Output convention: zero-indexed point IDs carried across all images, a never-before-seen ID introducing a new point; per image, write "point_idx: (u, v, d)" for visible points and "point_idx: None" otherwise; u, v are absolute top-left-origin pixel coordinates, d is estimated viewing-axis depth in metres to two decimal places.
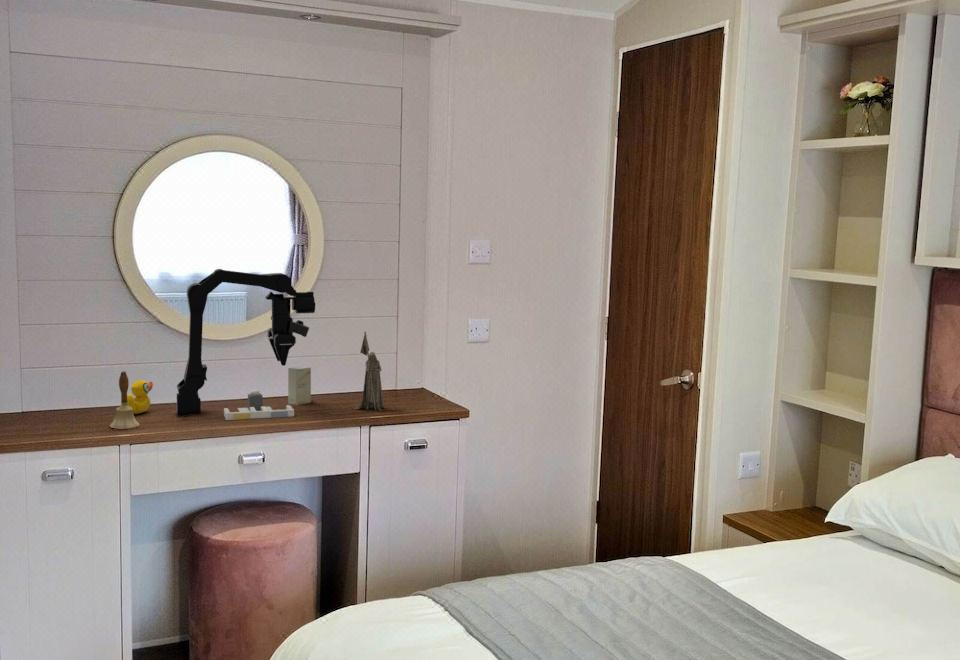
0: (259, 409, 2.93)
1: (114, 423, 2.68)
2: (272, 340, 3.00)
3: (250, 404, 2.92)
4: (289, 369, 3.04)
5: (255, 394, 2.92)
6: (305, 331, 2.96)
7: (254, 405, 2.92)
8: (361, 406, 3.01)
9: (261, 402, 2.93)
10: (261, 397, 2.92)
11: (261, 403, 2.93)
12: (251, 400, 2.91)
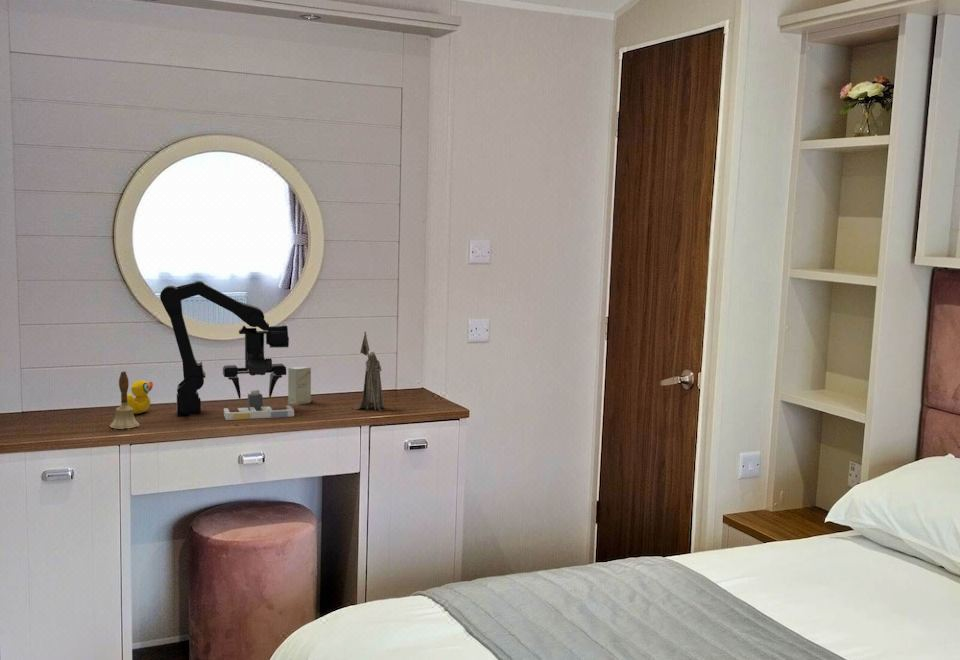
0: (259, 409, 2.93)
1: (114, 423, 2.68)
2: (270, 375, 2.97)
3: (250, 404, 2.92)
4: (289, 369, 3.04)
5: (255, 394, 2.92)
6: (249, 369, 2.85)
7: (254, 405, 2.92)
8: (361, 406, 3.01)
9: (261, 402, 2.93)
10: (261, 397, 2.92)
11: (261, 403, 2.93)
12: (251, 400, 2.91)
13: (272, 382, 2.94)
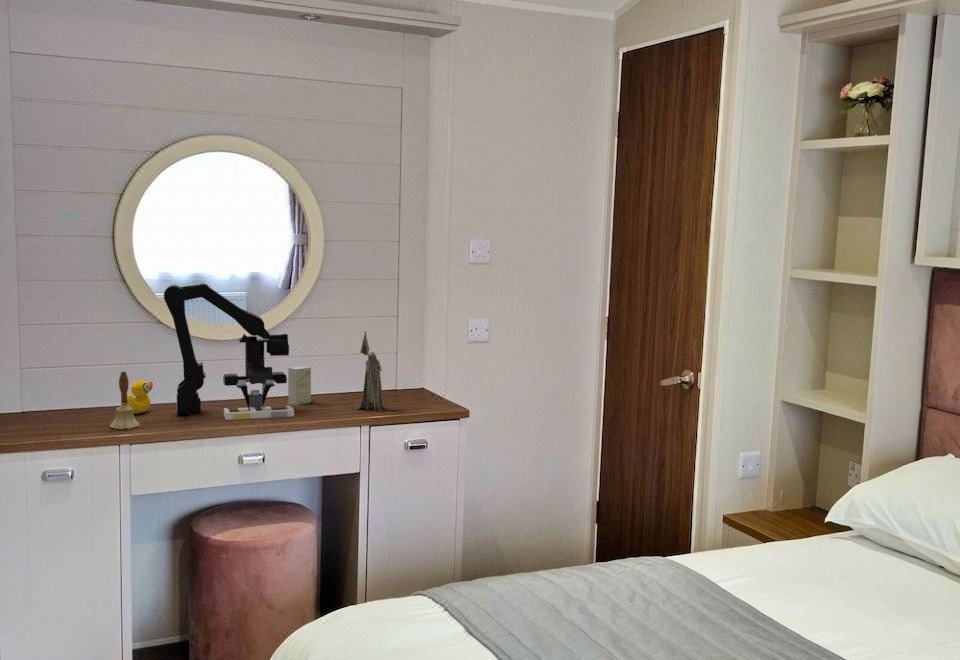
0: (259, 409, 2.93)
1: (114, 423, 2.68)
2: (262, 383, 2.96)
3: (250, 404, 2.92)
4: (289, 369, 3.04)
5: (255, 394, 2.92)
6: (250, 377, 2.85)
7: (254, 405, 2.92)
8: (361, 406, 3.01)
9: (261, 402, 2.93)
10: (261, 397, 2.92)
11: (261, 403, 2.93)
12: (251, 400, 2.91)
13: (264, 391, 2.93)
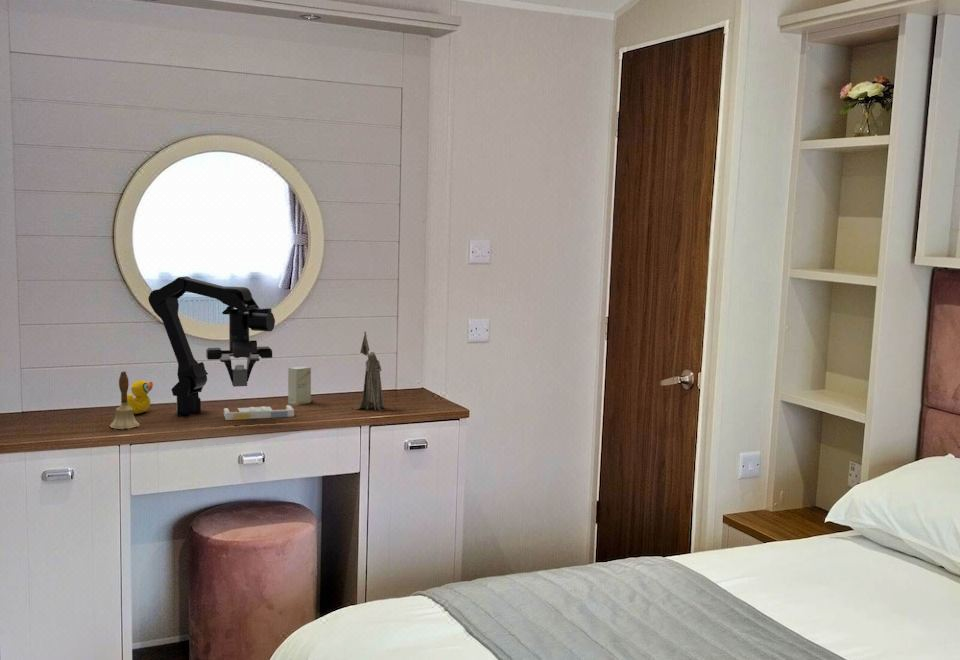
0: (243, 384, 2.82)
1: (114, 423, 2.68)
2: (247, 358, 2.85)
3: (234, 379, 2.81)
4: (289, 369, 3.04)
5: (239, 369, 2.82)
6: (233, 351, 2.75)
7: (238, 380, 2.81)
8: (361, 406, 3.01)
9: (246, 377, 2.82)
10: (246, 372, 2.82)
11: (246, 378, 2.82)
12: (235, 375, 2.81)
13: (249, 365, 2.82)
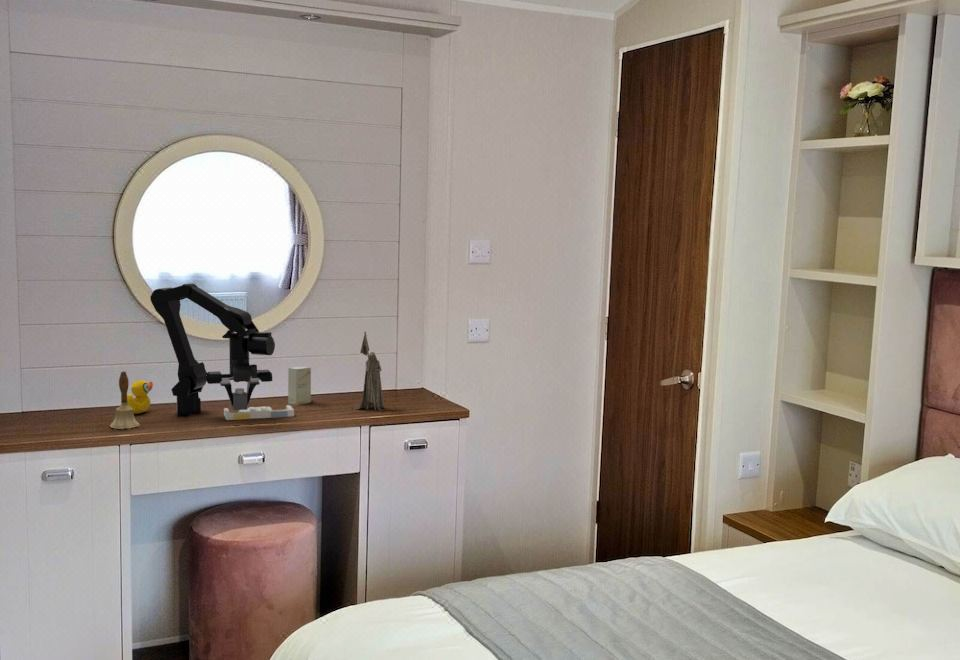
0: (244, 408, 2.83)
1: (114, 423, 2.68)
2: None
3: (234, 403, 2.82)
4: (289, 369, 3.04)
5: (239, 393, 2.83)
6: (233, 375, 2.76)
7: (238, 404, 2.82)
8: (361, 406, 3.01)
9: (246, 401, 2.83)
10: (246, 396, 2.83)
11: (246, 402, 2.83)
12: (235, 399, 2.82)
13: (249, 389, 2.83)
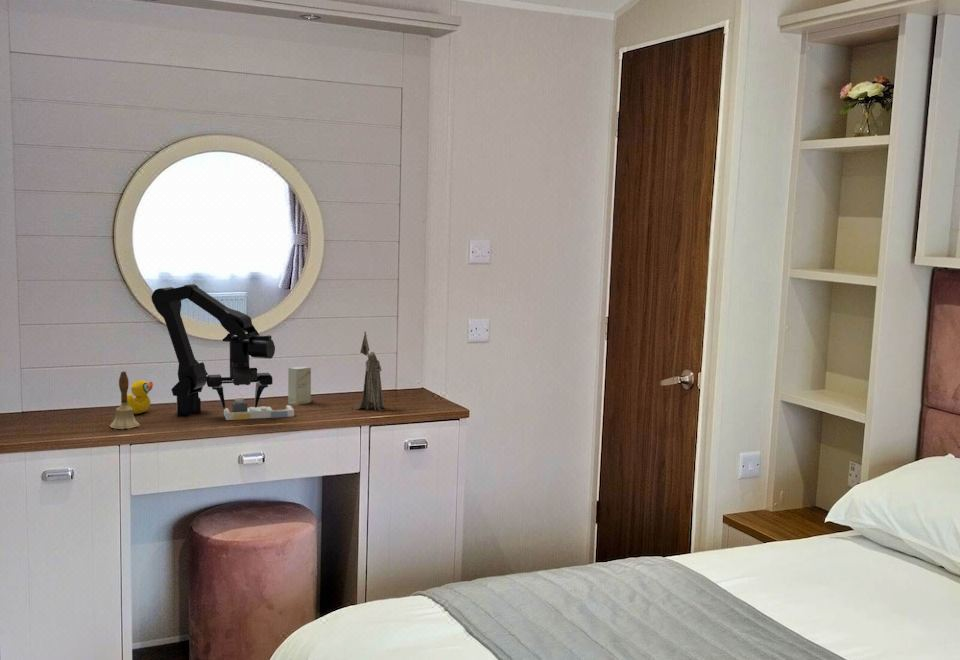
0: None
1: (114, 423, 2.68)
2: (256, 384, 2.87)
3: None
4: (289, 369, 3.04)
5: (240, 402, 2.83)
6: (234, 379, 2.76)
7: None
8: (361, 406, 3.01)
9: (246, 410, 2.83)
10: (246, 405, 2.83)
11: (246, 411, 2.83)
12: (235, 408, 2.82)
13: (258, 392, 2.84)
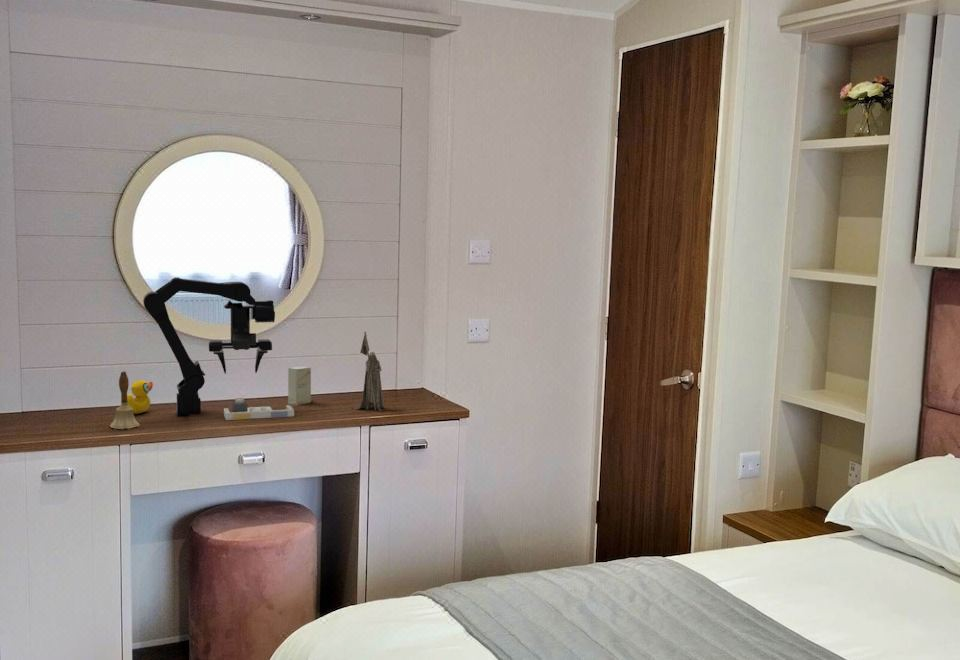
0: None
1: (114, 423, 2.68)
2: None
3: None
4: (289, 369, 3.04)
5: (240, 402, 2.83)
6: (233, 343, 2.84)
7: None
8: (361, 406, 3.01)
9: (246, 410, 2.83)
10: (246, 405, 2.83)
11: (246, 411, 2.83)
12: (235, 408, 2.82)
13: (258, 357, 2.92)
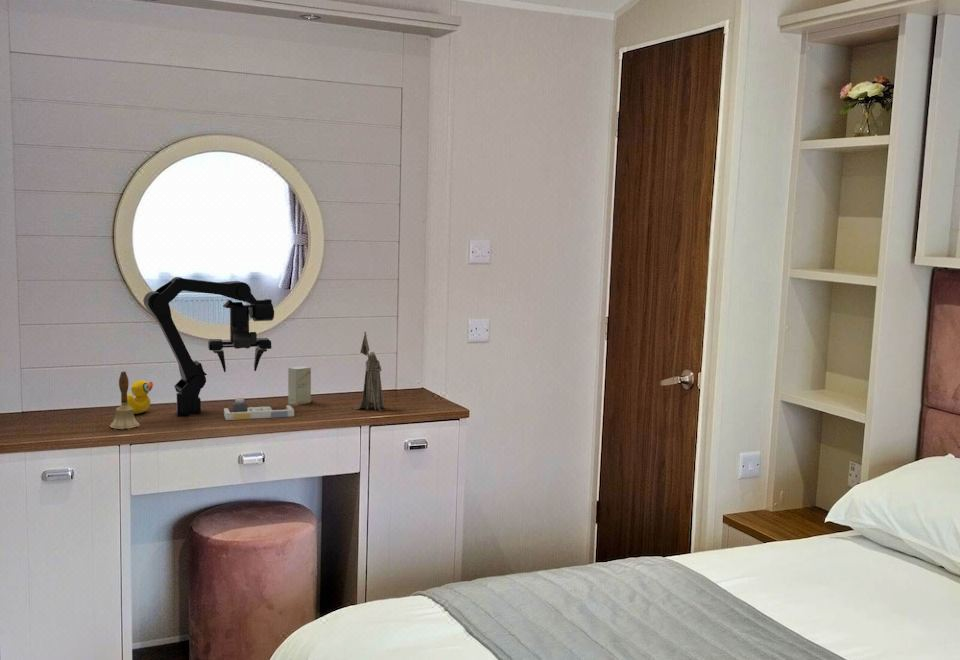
0: None
1: (114, 423, 2.68)
2: (255, 349, 2.98)
3: None
4: (289, 369, 3.04)
5: (240, 402, 2.83)
6: (234, 342, 2.87)
7: None
8: (361, 406, 3.01)
9: (246, 410, 2.83)
10: (246, 405, 2.83)
11: (246, 411, 2.83)
12: (235, 408, 2.82)
13: (257, 356, 2.95)
